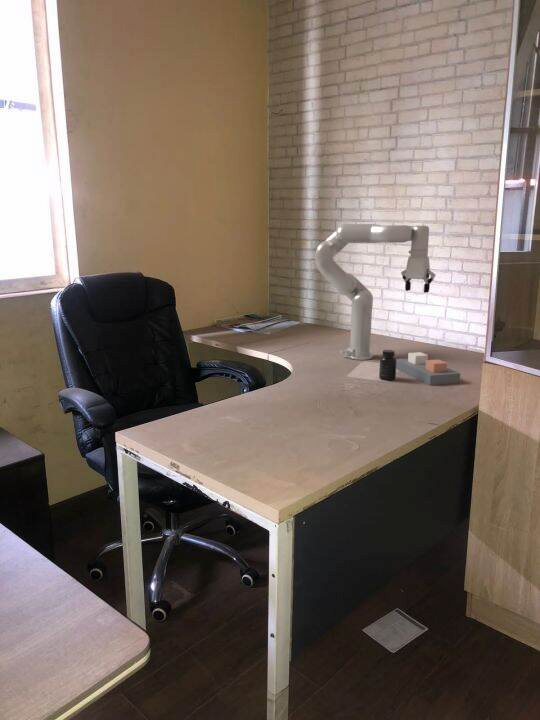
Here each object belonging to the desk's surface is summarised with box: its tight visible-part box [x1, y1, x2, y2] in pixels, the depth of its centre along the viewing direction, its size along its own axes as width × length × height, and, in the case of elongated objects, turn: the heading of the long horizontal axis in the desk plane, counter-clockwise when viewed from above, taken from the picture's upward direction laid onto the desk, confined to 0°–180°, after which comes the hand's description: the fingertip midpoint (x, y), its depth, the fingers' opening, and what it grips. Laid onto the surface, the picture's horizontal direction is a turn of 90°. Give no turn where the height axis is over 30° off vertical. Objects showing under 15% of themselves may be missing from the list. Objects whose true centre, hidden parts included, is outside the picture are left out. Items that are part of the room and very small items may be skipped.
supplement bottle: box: [378, 349, 397, 382], centre depth 240 cm, size 7×7×12 cm
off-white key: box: [407, 351, 429, 364], centre depth 253 cm, size 6×6×5 cm
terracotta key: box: [425, 359, 448, 373], centre depth 240 cm, size 6×6×5 cm
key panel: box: [396, 358, 461, 386], centre depth 247 cm, size 14×28×4 cm, turn 18°
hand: (416, 291), depth 265 cm, fingers open, 9 cm apart
